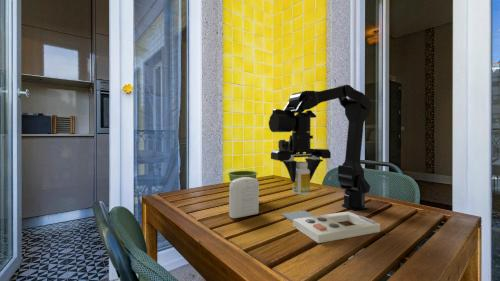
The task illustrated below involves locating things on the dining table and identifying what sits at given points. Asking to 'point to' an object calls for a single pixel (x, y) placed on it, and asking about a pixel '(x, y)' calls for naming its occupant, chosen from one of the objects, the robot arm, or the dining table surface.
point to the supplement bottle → (302, 179)
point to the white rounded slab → (243, 197)
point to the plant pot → (242, 174)
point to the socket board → (335, 226)
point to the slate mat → (297, 215)
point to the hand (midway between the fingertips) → (301, 181)
